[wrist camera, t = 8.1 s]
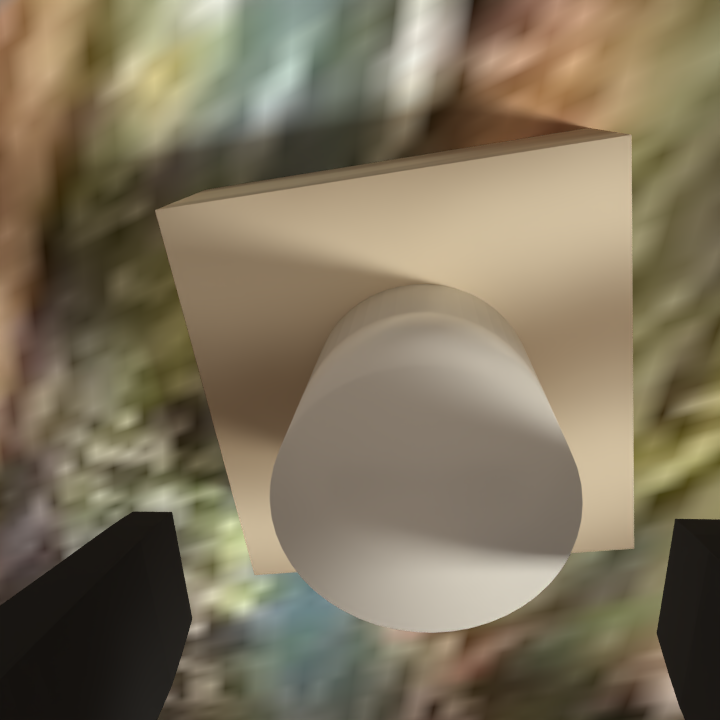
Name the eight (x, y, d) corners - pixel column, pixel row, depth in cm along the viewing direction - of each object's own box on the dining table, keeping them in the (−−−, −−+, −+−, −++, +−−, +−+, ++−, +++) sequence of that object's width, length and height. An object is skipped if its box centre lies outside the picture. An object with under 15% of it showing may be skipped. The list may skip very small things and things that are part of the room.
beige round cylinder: (533, 475, 15) (582, 629, 11) (330, 485, 16) (293, 635, 11) (528, 274, 14) (583, 353, 9) (301, 293, 14) (245, 378, 10)
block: (594, 465, 20) (633, 548, 16) (283, 492, 21) (254, 575, 18) (583, 127, 16) (631, 135, 13) (210, 187, 18) (154, 210, 14)
